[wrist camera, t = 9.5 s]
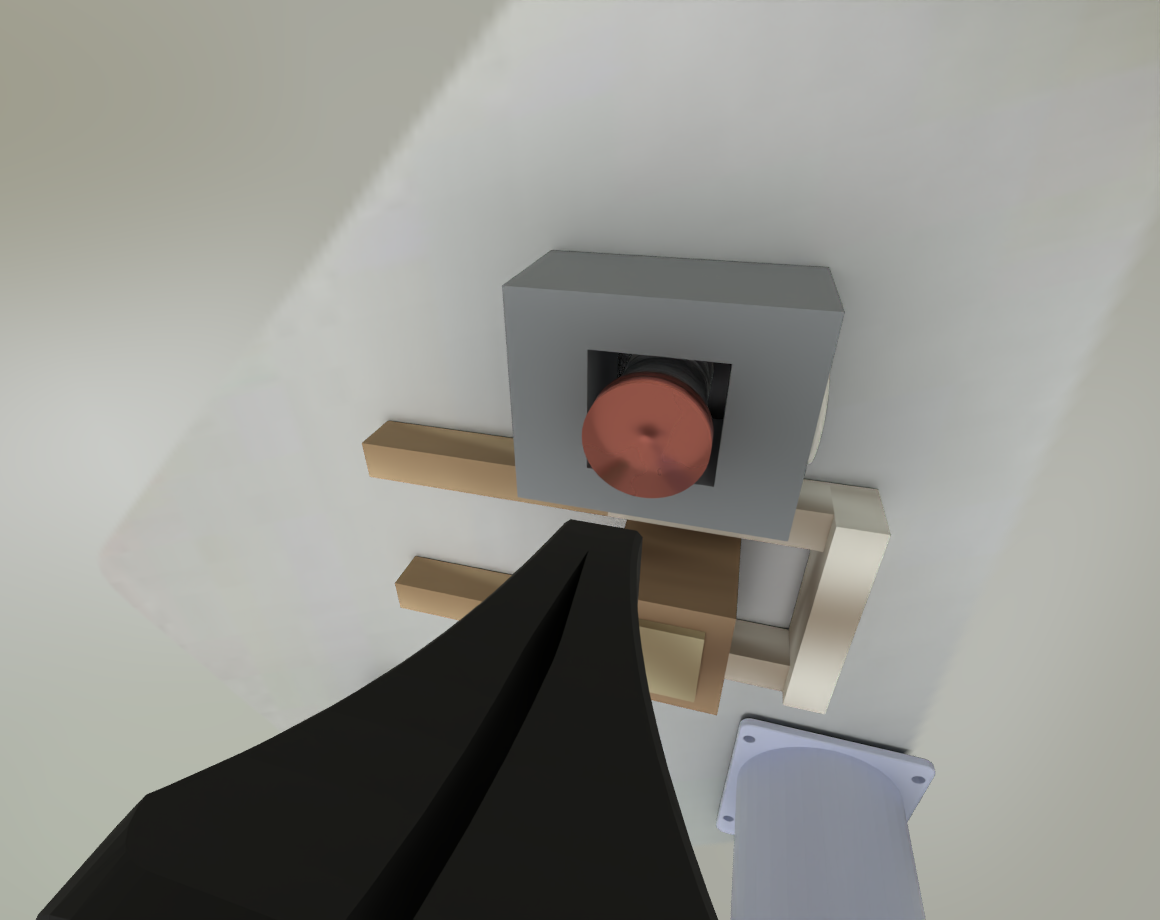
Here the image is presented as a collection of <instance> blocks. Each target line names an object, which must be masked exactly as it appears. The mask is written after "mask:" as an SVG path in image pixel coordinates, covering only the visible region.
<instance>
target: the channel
mask: <svg viewBox="0 0 1160 920" xmlns="http://www.w3.org/2000/svg"><path fill="white" fill-rule="evenodd" d="M362 446H363V450H364V454H365V459H366V463H367V467H368V471H369V475H370V477H375V478H381V479H387V480H393V481H399V482H405V483H411V484H417V485H423V486H429V487H435V488H441V489H447V490H453V491H459V492H465V493H471V494H477V495H483V496H489V497H495V498H501V499H508V500H514V501H520V502H526V503H532V504H538V505H544V506H550V507H556V508H562V509H568V510H574V511H580V512H586V513H592V514H598V515H604V516H610V517H616V518H622V519H628V520H634V521H640V522H646V523H652V524H658V525H664V526H670V527H676V528H682V529H688V530H694V531H700V532H706V533H712V534H718V535H724V536H731V537H737V538H743V539H749V540H755V541H761V542H767V543H773V544H779V545H785V546H791V547H797V548H803V549H809V550H811V551H810V555H809V558H808V562H807V565H806V569H805V573H804V576H803V580H802V583H801V587H800V591H799V594H798V598H797V601H796V605H795V609H794V612H793V616H792V619H791V623H790V627H789V630H787V629H782V628H777V627H772V626H767V625H762V624H757V623H752V622H747V621H742V620H737V619H736V622H735V627H734V632H733V637H732V642H731V647H730V652H729V657H728V662H727V667H726V672H725V677H724V679H728V680H732V681H737V682H741V683H746V684H750V685H755V686H759V687H764V688H769V689H773V690H778V691H782V692H783V705H785V706H790V707H794V708H799V709H803V710H808V711H812V712H816V713H821V714H825V713H826V710H827V707H828V705H829V702H830V699H831V697H832V694H833V691H834V688H835V686H836V683H837V680H838V678H839V675H840V672H841V669H842V667H843V664H844V661H845V659H846V656H847V653H848V650H849V648H850V645H851V642H852V640H853V637H854V634H855V631H856V629H857V626H858V623H859V621H860V618H861V615H862V612H863V610H864V607H865V604H866V602H867V599H868V596H869V593H870V591H871V588H872V585H873V583H874V580H875V577H876V574H877V572H878V569H879V566H880V564H881V561H882V558H883V555H884V553H885V550H886V547H887V544H888V542H889V539H890V536H891V534H890V530H889V527H888V523H887V519H886V516H885V512H884V509H883V505H882V501H881V498H880V494H879V491H878V489H871V488H864V487H857V486H849V485H842V484H835V483H828V482H821V481H814V480H807V479H803V483H802V487H801V491H800V495H799V499H798V503H797V507H796V511H795V515H794V519H793V523H792V527H791V531H790V536H789V540H788V541H781V540H775V539H769V538H763V537H757V536H751V535H745V534H739V533H733V532H727V531H721V530H714V529H708V528H702V527H696V526H690V525H684V524H678V523H672V522H666V521H660V520H654V519H647V518H641V517H635V516H629V515H623V514H617V513H611V512H605V511H599V510H593V509H587V508H581V507H574V506H568V505H562V504H556V503H550V502H544V501H538V500H532V499H526V498H520V497H518V495H517V481H516V468H515V454H514V440H513V438H507V437H500V436H493V435H486V434H479V433H471V432H464V431H457V430H450V429H443V428H436V427H429V426H422V425H414V424H407V423H400V422H393V421H387V422H386V423H385V424H383V425H382V426H381V427H380V428H379V429H378V430H377V431H375V432H374V433H373V434H372V435H371V436H370V437H368V438H367V439H366V440H365V441H364V442H363V443H362ZM511 576H512V575H508V574H503V573H498V572H493V571H488V570H483V569H478V568H473V567H468V566H463V565H457V564H452V563H447V562H442V561H437V560H432V559H427V558H422V557H417V556H415V557H414V559H413V560H412V561H411V563H410V564H409V565H408V567H407V568H406V569H405V570H404V572H403V573H402V574H401V576H400V577H399V578H398V580H397V581H396V582H395V586H396V590H397V594H398V598H399V603H400V607H401V608H406V609H410V610H415V611H419V612H424V613H428V614H433V615H437V616H442V617H446V618H451V619H455V620H460V619H462V618H463V617H464V616H465V615H467V614H468V613H469V612H470V611H471V610H473V609H474V608H475V607H476V606H478V605H479V604H480V603H481V602H482V601H484V600H485V599H486V598H487V597H488V596H490V595H491V594H492V593H493V592H494V591H495V590H496V589H497V588H499V587H500V586H501V585H502V584H503V583H504V582H505V581H506V580H507V579H508V578H510V577H511Z"/></svg>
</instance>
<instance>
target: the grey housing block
mask: <svg viewBox="0 0 1160 920" xmlns="http://www.w3.org/2000/svg"><path fill="white" fill-rule="evenodd" d="M502 290H503V303H504V317H505V331H506V344H507V358H508V372H509V385H510V399H511V413H512V426H513V440H514V454H515V468H516V481H517V495H518V497H520V498H526V499H532V500H538V501H544V502H550V503H556V504H562V505H568V506H574V507H581V508H587V509H593V510H599V511H605V512H611V513H617V514H623V515H629V516H635V517H641V518H647V519H654V520H660V521H666V522H672V523H678V524H684V525H690V526H696V527H702V528H708V529H714V530H721V531H727V532H733V533H739V534H745V535H751V536H757V537H763V538H769V539H775V540H781V541H788V540H789V536H790V531H791V527H792V523H793V519H794V515H795V511H796V507H797V503H798V499H799V495H800V491H801V487H802V483H803V479H804V475H805V471H806V467H807V464H811V463H812V461H813V459H814V457H815V455H816V452H817V450H818V446H819V443H820V439H821V435H822V431H823V426H824V421H825V416H826V410H827V403H828V395H829V382H830V370H831V366H832V362H833V358H834V354H835V350H836V346H837V342H838V337H839V333H840V329H841V325H842V321H843V317H844V313H845V312H844V309H843V306H842V303H841V300H840V297H839V295H838V292H837V289H836V286H835V283H834V280H833V277H832V275H831V272H830V269H829V267H814V266H798V265H782V264H765V263H749V262H733V261H717V260H700V259H684V258H668V257H652V256H635V255H619V254H603V253H587V252H570V251H554V250H551V251H550V252H548V253H547V254H545V255H544V256H543V257H541V258H540V259H538V260H537V261H536V262H534V263H533V264H532V265H530V266H529V267H527V268H526V269H525V270H523V271H522V272H520V273H519V274H518V275H516V276H515V277H514V278H512V279H511V280H509V281H508V282H507V283H505V284H504V285H502ZM618 353H628V354H638V355H648V356H658V357H668V358H678V359H688V360H698V361H708V362H718V363H728V364H731V370H730V377H729V384H728V391H727V397H726V404H725V411H724V418H723V420H721V419H713V418H712V421H713V428H714V433H713V442H712V448H711V454H710V459H709V462H708V465H707V467H706V469H705V471H704V473H703V474H702V476H701V477H700V478H699V479H698V480H697V481H696V482H695V483H694V484H693V485H692V486H690V487H689V488H688V489H686V490H684V491H682V492H680V493H678V494H675V495H673V496H668V497H664V498H641V497H636V496H632V495H629V494H626V493H623V492H621V491H619V490H617V489H615V488H614V487H612V486H610V485H609V484H608V483H606V482H605V481H604V480H603V479H602V478H600V477H599V476H598V474H597V473H596V472H595V471H594V470H593V468H592V467H591V465H590V464H589V462H588V460H587V458H586V455H585V453H584V450H583V445H582V428H583V423H584V420H585V418H586V415H587V413H588V412H589V410H590V408H591V406H592V405H593V403H594V401H595V399H596V398H597V396H598V394H599V393H600V392H601V391H602V389H603V388H604V387H606V386H607V385H608V384H609V383H610V382H612V381H613V380H615V379H617V375H618Z"/></svg>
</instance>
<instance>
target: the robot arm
mask: <svg viewBox="0 0 1160 920" xmlns="http://www.w3.org/2000/svg"><path fill="white" fill-rule="evenodd" d="M642 541H643V537H642V536H641V535H640V533H639V532H638V531H636V530H630V529H624V528H618V527H612V526H606V525H601V524H595V523H589V522H583V521H577V520H571V519H570V520H569V521H567V522H566V523H564V525H563V526H562V527H561V528H560V529H559V530H558V531H557V532H556V533H555V534H554V535H553V536H552V537H551V538H550V539H549V540H548V541H547V542H546V543H545V544H544V545H543V546H542V547H541V548H540V549H539V550H538V551H537V552H536V553H535V554H534V555H533V556H532V557H531V558H530V559H529V560H528V561H527V562H526V563H525V564H524V565H523V566H522V567H520V568H519V569H518V570H517V571H516V572H515V573H514V574H513V575H512V576H511V577H510V578H508V579H507V580H506V581H505V582H504V583H503V584H502V585H501V586H500V587H499V588H497V589H496V590H495V591H494V592H493V593H492V594H491V595H490V596H488V597H487V598H486V599H485V600H484V601H482V602H481V603H480V604H479V605H478V606H476V607H475V608H474V609H473V610H471V611H470V612H469V613H468V614H467V615H465V616H464V617H463V618H462V619H460V620H459V621H458V622H457V623H456V624H454V625H453V626H452V627H450V628H449V629H448V630H447V631H445V632H444V633H443V634H441V635H440V636H439V637H437V638H436V639H435V640H433V641H432V642H430V643H429V644H428V645H426V646H425V647H424V648H422V649H421V650H419V651H418V652H416V653H415V654H414V655H412V656H411V657H409V658H408V659H406V660H405V661H403V662H402V663H400V664H399V665H397V666H396V667H394V668H393V669H391V670H390V671H388V672H387V673H385V674H383V675H382V676H380V677H379V678H377V679H375V680H374V681H372V682H371V683H369V684H368V685H366V686H364V687H363V688H361V689H360V690H358V691H356V692H355V693H353V694H351V695H350V696H348V697H346V698H345V699H343V700H341V701H339V702H338V703H336V704H334V705H332V706H331V707H329V708H327V709H325V710H323V711H321V712H319V713H318V714H316V715H314V716H312V717H310V718H308V719H306V720H304V721H303V722H301V723H299V724H297V725H295V726H293V727H291V728H289V729H288V730H286V731H284V732H282V733H280V734H278V735H276V736H274V737H273V738H271V739H269V740H267V741H265V742H263V743H261V744H259V745H257V746H254V747H252V748H250V749H248V750H246V751H244V752H242V753H240V754H238V755H236V756H233V757H231V758H229V759H227V760H224V761H222V762H220V763H218V764H216V765H213V766H211V767H209V768H207V769H204V770H202V771H200V772H198V773H195V774H193V775H191V776H189V777H186V778H184V779H182V780H180V781H177V782H175V783H173V784H171V785H169V786H166V787H164V788H161V789H159V790H156V791H154V792H152V793H149V794H147V795H146V796H145V797H144V798H143V799H142V800H141V801H140V802H139V803H138V804H137V805H136V806H135V807H134V808H133V809H132V810H131V811H130V812H129V813H128V814H127V816H126V817H125V818H124V819H123V820H122V821H121V822H120V823H119V824H118V825H117V826H116V828H115V829H114V830H113V831H112V832H111V833H110V834H109V835H108V836H107V838H106V839H105V840H104V841H103V842H102V843H101V844H100V845H99V847H98V848H97V849H96V850H95V851H94V852H93V853H92V855H91V856H90V857H89V858H88V859H87V860H86V861H85V862H84V864H83V865H82V866H81V867H80V868H79V869H78V870H77V871H76V873H75V874H74V875H73V876H72V877H71V878H70V879H69V880H68V882H67V883H66V884H65V885H64V886H63V887H62V888H61V890H60V891H59V892H58V893H57V894H56V895H55V896H54V898H53V899H52V900H51V901H50V902H49V903H48V904H47V905H46V907H45V908H44V909H43V910H42V911H41V912H40V913H39V914H38V916H37V918H36V920H718V918H717V915H716V913H715V910H714V908H713V905H712V902H711V899H710V897H709V894H708V891H707V888H706V885H705V883H704V880H703V877H702V874H701V871H700V868H699V865H698V862H697V860H696V857H695V854H694V851H693V848H692V845H691V842H690V839H689V836H688V833H687V829H686V826H685V823H684V820H683V816H682V813H681V810H680V807H679V803H678V800H677V797H676V793H675V790H674V787H673V784H672V780H671V777H670V774H669V770H668V767H667V763H666V759H665V755H664V752H663V748H662V744H661V740H660V736H659V732H658V728H657V724H656V719H655V715H654V711H653V706H652V702H651V697H650V692H649V687H648V681H647V676H646V670H645V664H644V658H643V652H642V645H641V637H640V629H639V617H638V596H639V582H640V568H641V555H642ZM934 776H935V769H934V766H933V764H932V763H931V762H930V761H929V760H926V759H923V758H919V757H915V756H911V755H906V754H902V753H898V752H894V751H889V750H885V749H881V748H876V747H872V746H868V745H863V744H859V743H855V742H851V741H846V740H842V739H838V738H833V737H829V736H825V735H821V734H816V733H812V732H808V731H803V730H799V729H795V728H791V727H786V726H782V725H778V724H773V723H769V722H765V721H760V720H756V719H751V718H747V719H744V720H742V721H741V722H740V725H739V729H738V733H737V737H736V741H735V745H734V749H733V753H732V758H731V762H730V766H729V770H728V774H727V778H726V782H725V786H724V791H723V795H722V799H721V803H720V807H719V811H718V815H717V821H716V827H717V828H718V829H719V830H720V831H722V832H725V833H728V834H732V835H734V855H733V856H734V857H733V878H732V900H731V920H926V919H925V914H924V908H923V903H922V898H921V893H920V887H919V882H918V877H917V873H916V866H915V862H914V856H913V851H912V845H911V840H910V835H909V830H908V825H907V822H908V820H909V819H910V817H911V815H912V813H913V812H914V810H915V808H916V807H917V805H918V803H919V802H920V800H921V798H922V796H923V795H924V793H925V791H926V789H927V788H928V786H929V784H930V783H931V781H932V779H933V778H934Z"/></svg>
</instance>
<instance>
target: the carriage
mask: <svg viewBox="0 0 1160 920" xmlns="http://www.w3.org/2000/svg"><path fill="white" fill-rule="evenodd" d="M624 529H630V530H636V531H638V532H639V533H640V535H641V536H642V537H643V541H642V555H641V568H640V582H639V596H638V617H639V629H640V637H641V645H642V652H643V658H644V664H645V670H646V676H647V681H648V687H649V692H650V697H651V700H654V701H658V702H662V703H666V704H671V705H675V706H679V707H683V708H688V709H692V710H696V711H700V712H705V713H709V714H713V715H717V712H718V707H719V702H720V697H721V692H722V687H723V682H724V677H725V672H726V667H727V662H728V657H729V652H730V647H731V642H732V637H733V632H734V627H735V622H736V613H737V597H738V581H739V565H740V549H741V538H737V537H731V536H724V535H718V534H712V533H706V532H700V531H694V530H688V529H682V528H676V527H670V526H664V525H658V524H652V523H646V522H640V521H634V520H628V519H627V522H626V525H625V528H624Z"/></svg>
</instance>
